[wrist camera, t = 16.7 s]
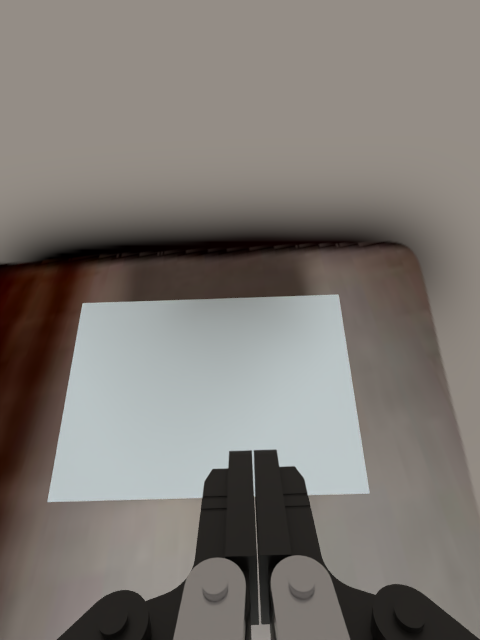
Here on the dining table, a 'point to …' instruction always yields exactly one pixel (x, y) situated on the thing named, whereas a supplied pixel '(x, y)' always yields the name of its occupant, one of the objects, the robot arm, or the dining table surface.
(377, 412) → the dining table surface
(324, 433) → the lid
